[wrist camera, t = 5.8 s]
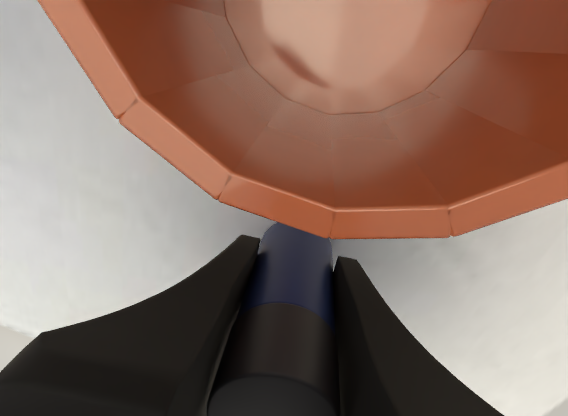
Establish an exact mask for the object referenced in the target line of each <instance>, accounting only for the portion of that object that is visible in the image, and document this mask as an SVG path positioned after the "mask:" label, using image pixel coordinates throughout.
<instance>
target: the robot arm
mask: <svg viewBox="0 0 568 416" xmlns="http://www.w3.org/2000/svg"><path fill="white" fill-rule="evenodd" d="M259 244H260V238H255V237H251V236H246V235H241V236H239V237H238V238H237V239H236V240H235V241H234V242H233V243H232V244H230V245H229V246H228V247H227V248H226V249H225V250H224V251H223V252H221V253H220V254H219V255H218V256H216V257H215V258H214V259H213V260H211V261H210V262H209V263H207V264H206V265H205V266H203V267H202V268H200V269H199V270H198V271H196V272H195V273H193V274H192V275H190V276H189V277H187V278H186V279H184V280H182V281H181V282H179V283H177V284H176V285H174V286H172V287H170V288H168V289H167V290H165V291H163V292H161V293H159V294H157V295H155V296H152V297H150V298H148V299H146V300H143V301H141V302H139V303H137V304H134V305H132V306H129V307H127V308H124V309H121V310H119V311H116V312H113V313H110V314H107V315H104V316H101V317H98V318H95V319H92V320H88V321H85V322H81V323H77V324H74V325H70V326H66V327H62V328H59V329H55V330H51V331H47V332H42V333H41V334H40V335H38V336H37V337H36V338H35V339H34V340H33V341H32V342H31V343H29V345H27V346H26V347H25V348H24V349H23V350H22V351H21V352H20V353H19V354H18V355H17V356H16V357H15V358H14V359H13V360H12V361H11V362H10V363H9V364H8V365H7V366H6V367H5V368H4V369H3V370H2V371H1V372H0V416H207V401H208V398H209V394H210V391H211V388H212V385H213V382H214V379H215V376H216V373H217V370H218V367H219V364H220V361H221V358H222V355H223V352H224V349H225V346H226V343H227V340H228V336H229V333H230V330H231V328H232V326H233V324H234V323H235V321H236V318H237V315H238V312H239V309H240V306H241V303H242V300H243V296H244V293H245V290H246V287H247V285H248V282H249V279H250V276H251V274H252V271H253V268H254V264H255V261H256V258H257V255H258V250H259ZM333 286H334V313H335V337H336V340H337V345H338V364H339V387H340V410H341V416H504V415H503V414H501V413H500V412H498V411H497V410H496V409H495V408H493V407H492V406H491V405H489V404H488V403H487V402H486V401H484V400H483V399H482V398H480V397H479V396H478V395H477V394H475V393H474V392H473V391H472V390H470V389H469V388H468V387H467V386H466V385H464V384H463V383H462V382H461V381H460V380H458V379H457V378H456V377H455V376H454V375H453V374H452V373H451V372H449V371H448V370H447V369H446V368H445V367H444V366H443V365H442V364H441V363H439V362H438V361H437V360H436V359H435V358H434V357H433V356H432V355H431V354H430V353H429V352H428V351H427V350H426V349H425V348H424V347H423V346H422V345H421V344H420V343H419V342H418V341H417V339H416V338H415V337H414V336H413V335H412V334H411V333H410V332H409V331H408V330H407V329H406V327H405V326H404V325H403V324H402V323H401V321H400V320H399V319H398V318H397V316H396V315H395V314H394V313H393V311H392V310H391V309H390V308H389V306H388V305H387V304H386V302H385V301H384V299H383V298H382V297H381V295H380V294H379V292H378V291H377V290H376V288H375V287H374V285H373V284H372V282H371V281H370V279H369V278H368V276H367V275H366V273H365V272H364V270H363V268H362V267H361V265H360V264H359V262H358V261H357V260H355V259H351V258H346V257H341V256H338V258H337V261H336V265H335V268H334V271H333Z"/></svg>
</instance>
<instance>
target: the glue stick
mask: <svg viewBox="0 0 568 416" xmlns="http://www.w3.org/2000/svg"><path fill="white" fill-rule="evenodd" d="M207 416H341V410H340V387H339V364H338V345H337V340H336V337H335V313H334V286H333V258H332V245H331V242H330V239H329V237H328V238H323V237H320V236H317V235H314V234H311V233H308V232H305V231H302V230H299V229H296V228H294V227H291V226H288V225H285V224H282V223H279V222H278V223H276V224H274V225H272V226H271V227H270V228H269V229H268V230H267V231H266V232H265V234H264V235H263V238H262V240H261V243H260V246H259V250H258V255H257V258H256V261H255V264H254V268H253V271H252V274H251V276H250V279H249V282H248V285H247V287H246V290H245V293H244V296H243V300H242V303H241V306H240V309H239V312H238V315H237V318H236V321H235V323H234V324H233V326H232V328H231V330H230V333H229V336H228V340H227V343H226V346H225V349H224V352H223V355H222V358H221V361H220V364H219V367H218V370H217V373H216V376H215V379H214V382H213V385H212V388H211V391H210V394H209V398H208V401H207Z"/></svg>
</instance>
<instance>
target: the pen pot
mask: <svg viewBox="0 0 568 416" xmlns="http://www.w3.org/2000/svg"><path fill="white" fill-rule="evenodd" d="M37 1H38V2H39V4H40V5H41V7H42V8H43V10H44V11H45V13H46V14H47V16H48V17H49V19H50V20H51V22H52V23H53V25H54V26H55V28H56V29H57V31H58V32H59V34H60V35H61V37H62V38H63V40H64V41H65V43H66V44H67V46H68V47H69V49H70V50H71V52H72V54H73V55H74V57H75V58H76V60H77V61H78V63H79V64H80V66H81V67H82V69H83V70H84V72H85V73H86V75H87V76H88V78H89V79H90V81H91V82H92V84H93V85H94V87H95V88H96V90H97V91H98V93H99V94H100V96H101V97H102V99H103V100H104V102H105V103H106V105H107V106H108V108H109V109H110V111H111V112H112V114H113V115H114V117H115V118H116V119H119V123H120V124H121V125H122V126H124V127H125V128H126V129H127V130H129V131H130V132H131V133H132V134H134V135H135V136H136V137H138V138H139V139H140V140H141V141H143V142H144V143H145V144H146V145H148V146H149V147H150V148H151V149H153V150H154V151H155V152H156V153H158V154H159V155H160V156H161V157H163V158H164V159H165V160H166V161H168V162H169V163H170V164H171V165H173V166H174V167H175V168H176V169H178V170H179V171H180V172H181V173H183V174H184V175H185V176H186V177H188V178H189V179H190V180H191V181H193V182H194V183H195V184H196V185H198V186H199V187H200V188H201V189H203V190H204V191H205V192H206V193H208V194H209V195H210V196H211V197H213V198H214V199H216V200H217V199H219V202H221V203H224V204H227V205H230V206H233V207H236V208H238V209H241V210H244V211H247V212H250V213H253V214H256V215H259V216H262V217H265V218H267V219H270V220H273V221H276V222H279V223H282V224H285V225H288V226H291V227H294V228H296V229H299V230H302V231H305V232H308V233H311V234H314V235H317V236H320V237H323V238H328V237H329V238H330V239H397V238H448V237H450V235H451V236H453V237H454V236H459V235H462V234H464V233H467V232H470V231H473V230H476V229H479V228H482V227H485V226H488V225H491V224H494V223H497V222H500V221H503V220H506V219H509V218H512V217H515V216H518V215H521V214H524V213H527V212H530V211H533V210H535V209H538V208H541V207H544V206H547V205H550V204H553V203H556V202H559V201H562V200H565V199H568V0H37Z"/></svg>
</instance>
